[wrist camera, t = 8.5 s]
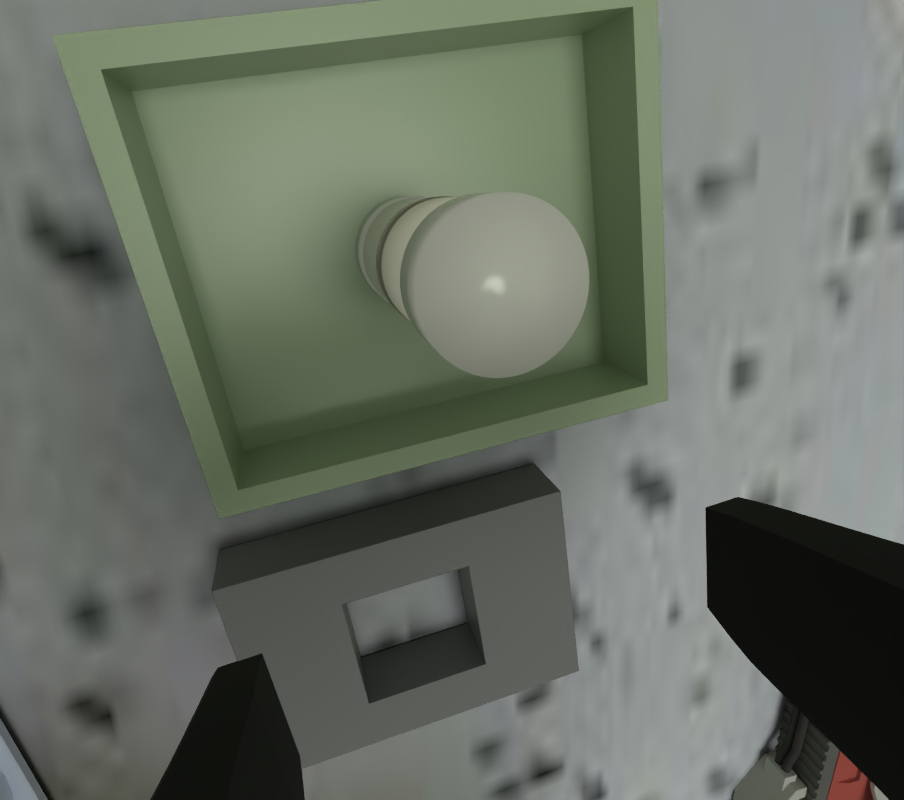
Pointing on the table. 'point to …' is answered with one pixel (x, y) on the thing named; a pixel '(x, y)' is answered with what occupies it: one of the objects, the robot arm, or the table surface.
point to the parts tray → (351, 199)
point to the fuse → (479, 276)
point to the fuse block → (391, 566)
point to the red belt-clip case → (805, 768)
